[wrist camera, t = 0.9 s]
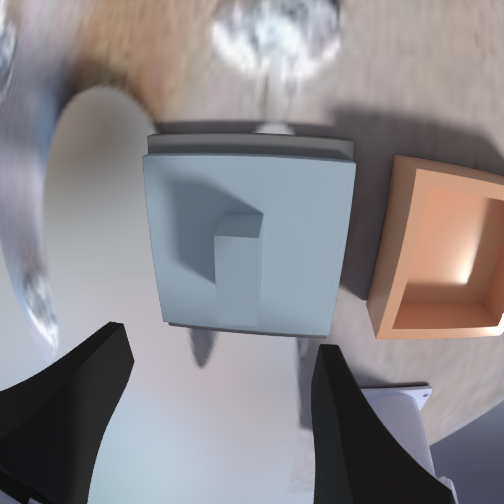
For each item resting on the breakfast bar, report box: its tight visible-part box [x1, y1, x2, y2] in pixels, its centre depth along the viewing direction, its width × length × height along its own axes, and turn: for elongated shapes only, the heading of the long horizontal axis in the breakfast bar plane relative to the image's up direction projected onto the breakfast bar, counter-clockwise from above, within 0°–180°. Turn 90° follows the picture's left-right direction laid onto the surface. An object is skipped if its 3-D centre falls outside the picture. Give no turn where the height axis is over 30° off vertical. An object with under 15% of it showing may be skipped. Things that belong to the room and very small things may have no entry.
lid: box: [143, 153, 356, 336], centre depth 17 cm, size 11×11×4 cm
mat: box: [147, 133, 355, 339], centre depth 19 cm, size 13×11×1 cm
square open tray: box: [366, 154, 504, 339], centre depth 16 cm, size 10×10×4 cm
